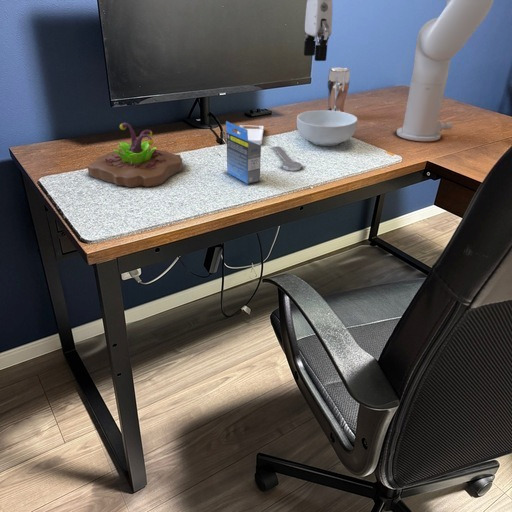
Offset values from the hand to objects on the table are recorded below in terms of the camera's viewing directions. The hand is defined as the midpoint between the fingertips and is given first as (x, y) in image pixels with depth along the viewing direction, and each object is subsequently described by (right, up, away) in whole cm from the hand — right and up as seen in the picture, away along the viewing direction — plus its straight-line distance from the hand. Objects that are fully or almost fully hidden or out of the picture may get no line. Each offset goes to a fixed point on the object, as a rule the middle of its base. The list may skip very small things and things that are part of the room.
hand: (314, 58), depth 139 cm
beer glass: (+10, -10, +24) cm, 28 cm away
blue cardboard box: (-20, -38, -26) cm, 50 cm away
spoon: (-9, -32, -15) cm, 37 cm away
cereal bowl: (+3, -25, -1) cm, 25 cm away
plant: (-45, -37, -24) cm, 63 cm away
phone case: (-18, -22, +2) cm, 29 cm away
